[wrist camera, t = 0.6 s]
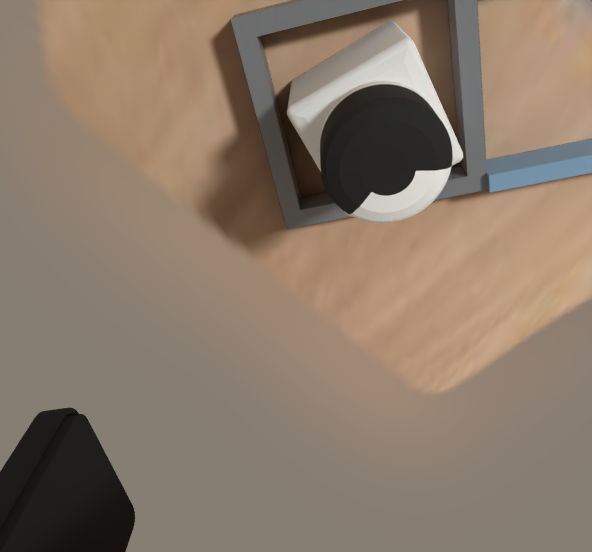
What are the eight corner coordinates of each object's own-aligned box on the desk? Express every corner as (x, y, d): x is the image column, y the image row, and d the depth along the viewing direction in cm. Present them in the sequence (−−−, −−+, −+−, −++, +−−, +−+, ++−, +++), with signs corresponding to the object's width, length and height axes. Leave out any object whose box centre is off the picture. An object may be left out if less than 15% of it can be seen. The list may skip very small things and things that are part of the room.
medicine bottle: (288, 81, 34) (278, 141, 24) (392, 17, 32) (430, 53, 22) (342, 175, 37) (353, 263, 27) (440, 122, 35) (492, 197, 25)
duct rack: (234, 15, 32) (229, 20, 30) (702, -106, 29) (733, -109, 27) (288, 216, 39) (286, 232, 37) (672, 139, 36) (694, 152, 33)
